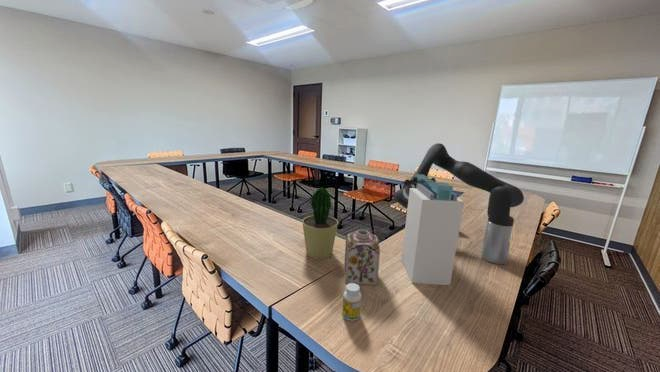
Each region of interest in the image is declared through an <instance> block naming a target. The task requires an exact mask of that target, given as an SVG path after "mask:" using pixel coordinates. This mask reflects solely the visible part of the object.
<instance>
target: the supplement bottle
mask: <svg viewBox="0 0 660 372" xmlns="http://www.w3.org/2000/svg"><path fill="white" fill-rule="evenodd" d="M360 290H361V288H360V285H359V284H355V283H349V284H346V286H345V291H344V292H343V295H342V314H341V315H342V317H343V318H344V319H345V320H346V321H349V320H350V322H354V320H355V321H357V319H358V320H359V319H360V317H361V310H362V309H361V308H362V307H361V306H362V294H361V291H360Z"/></svg>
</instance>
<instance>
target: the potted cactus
mask: <svg viewBox="0 0 660 372" xmlns="http://www.w3.org/2000/svg"><path fill="white" fill-rule="evenodd" d="M311 195H312V196H309V198H310V204H311V205H310V207H311V211H312V212H313V213H311V214H312V215H309V216H306V217H304V218H302V221H301V222H302V229H303V237H304V238H303V239H304V244H305V253H306V255H307V256H308V257H309V258H311V259H316V260H325V259H328V258H330V257H331V256H332V253H333V250H334V246H335V245H334V244H335V240H336V236H337V231H338V226H339V225H338V224H339V220H338V219H336V218H335V217H334V216H333V217H332V216H329V215H330V210H333V208H332V198H331V197H332V194H331V193H330V192H328V189H327V188H325V187H319V188H318V189H316V190H315V191H314V192H313V191H312V194H311Z"/></svg>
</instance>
